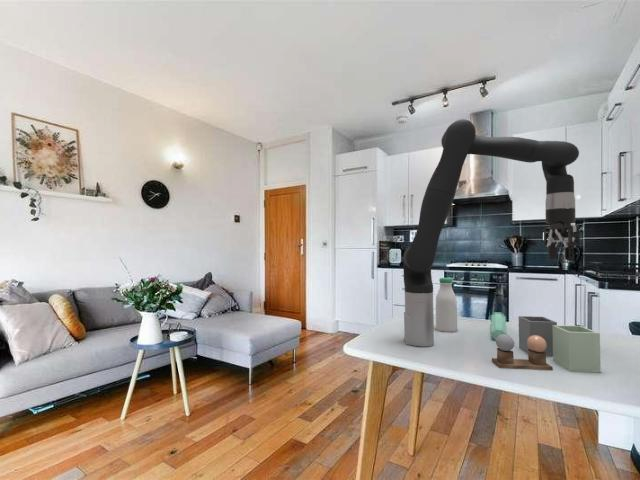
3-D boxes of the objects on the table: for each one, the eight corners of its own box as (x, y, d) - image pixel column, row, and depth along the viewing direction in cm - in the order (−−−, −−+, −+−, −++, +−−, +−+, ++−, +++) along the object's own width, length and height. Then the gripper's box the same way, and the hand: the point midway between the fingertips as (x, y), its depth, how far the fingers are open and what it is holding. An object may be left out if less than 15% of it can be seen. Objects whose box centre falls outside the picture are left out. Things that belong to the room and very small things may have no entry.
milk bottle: (460, 332, 118) (460, 279, 118) (440, 332, 118) (439, 279, 118) (452, 327, 125) (451, 277, 126) (433, 327, 126) (432, 277, 126)
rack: (499, 367, 84) (499, 352, 84) (491, 360, 89) (491, 346, 89) (552, 370, 82) (552, 354, 82) (542, 363, 87) (541, 348, 87)
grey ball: (499, 353, 84) (499, 336, 84) (493, 347, 89) (492, 332, 89) (517, 353, 84) (517, 337, 84) (510, 348, 88) (509, 332, 88)
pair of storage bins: (552, 370, 82) (551, 331, 82) (519, 347, 100) (518, 316, 100) (600, 372, 80) (599, 333, 80) (557, 349, 98) (557, 317, 98)
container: (504, 324, 105) (502, 309, 127) (486, 329, 108) (487, 314, 130) (512, 342, 104) (509, 324, 126) (493, 346, 107) (494, 328, 129)
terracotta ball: (532, 354, 83) (531, 337, 83) (524, 348, 87) (523, 333, 87) (550, 355, 82) (550, 338, 82) (541, 349, 87) (540, 333, 87)
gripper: (535, 210, 107) (535, 258, 107) (560, 205, 93) (561, 260, 93) (559, 210, 106) (559, 258, 106) (589, 205, 92) (589, 260, 92)
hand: (560, 259), depth 99 cm, fingers open, 8 cm apart
